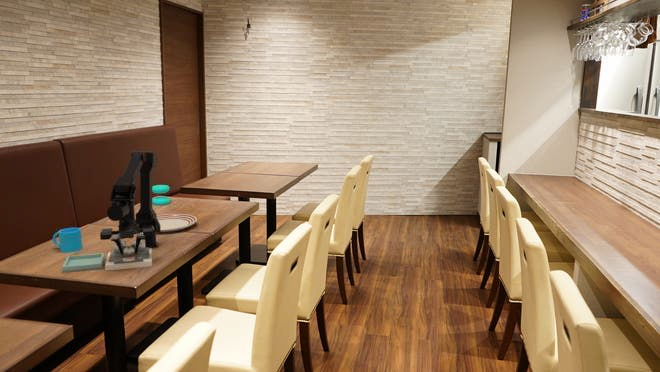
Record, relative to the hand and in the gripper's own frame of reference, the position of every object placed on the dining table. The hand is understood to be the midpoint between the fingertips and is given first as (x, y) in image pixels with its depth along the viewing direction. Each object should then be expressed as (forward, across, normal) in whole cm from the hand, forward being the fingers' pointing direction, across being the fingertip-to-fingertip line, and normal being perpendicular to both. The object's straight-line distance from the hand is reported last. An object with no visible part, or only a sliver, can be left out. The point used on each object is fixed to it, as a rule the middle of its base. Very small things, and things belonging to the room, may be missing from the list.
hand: (129, 254), depth 202 cm
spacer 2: (0, 0, 0) cm, 0 cm away
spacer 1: (0, -4, +6) cm, 7 cm away
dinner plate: (+4, +15, +50) cm, 52 cm away
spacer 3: (0, +4, +6) cm, 7 cm away
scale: (+3, 0, +2) cm, 4 cm away
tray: (+3, -16, +2) cm, 17 cm away
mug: (+4, -25, +26) cm, 36 cm away
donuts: (+4, +13, +102) cm, 103 cm away
